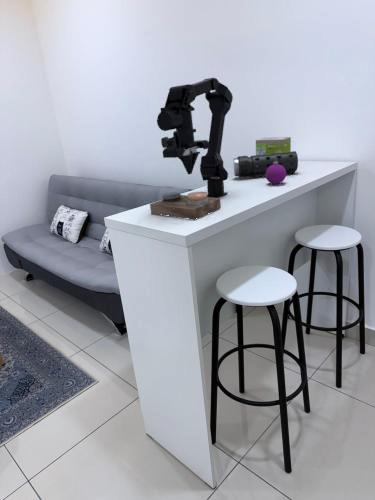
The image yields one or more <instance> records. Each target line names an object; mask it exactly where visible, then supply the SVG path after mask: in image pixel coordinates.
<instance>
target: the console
mask: <svg viewBox="0 0 375 500" xmlns="http://www.w3.org/2000/svg"><path fill="white" fill-rule="evenodd" d="M180 196H181V200H178V201H176V202H173V203H170V202H162V200H163V199H160V200H158V201H155V202H152V203H149V206H150V207H149V208H150V214H151V213H155V214H154V215H157V214H162V215H161V216H163V215H169V216H168V217H170V216H176V217H175V218H177V217H182V218H181V219H183V218H189V219H188V220H190V219H196V218H199V217H201V216H203V217H205V216H207V215H206V214H208V213H210V214H212V213H214V212H216V211H218V209H219V210H221V209H222V208H221V207H222V204H221V197H208V203H205V204H203V205H200V206H196V205H188V201H187V200H188V194H187V195H185V194H180ZM220 208H221V209H220ZM211 212H212V213H211ZM204 215H205V216H204ZM208 215H209V214H208ZM201 218H202V217H201ZM199 219H200V218H199ZM196 220H197V219H196Z"/></svg>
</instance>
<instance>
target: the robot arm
mask: <svg viewBox="0 0 375 500" xmlns="http://www.w3.org/2000/svg"><path fill="white" fill-rule="evenodd" d="M203 94H204V98H205V100H206V101H207V102H208V108H209V110H210V112H211V120H210V121H211V122H210V129H209V138H208V139H200V140H199V139H196V140H195V134H194V133H196V132H197V130H196V128H194V124H193V114H192V112H193V111H195V107H194V106H192V105H191V103H193V102H194V101H195V100H196V97H199V96H201V95H203ZM166 97H167V98H166V100H165V103H164V107H160V112H159V113H158V115H157V119H156V123H157V126H158V128H159V129H160V130H161V131H164V132H168V131H172V130H175V131H173V133H172V134H173V135H172V137H168V136H164V137H161V139H160V140H161V141H160V142H161V143H160V144H161V146H162V148H163V150H162V158H163V159H165V158H166V159H167V158H168V159H172V158H173V159H174V158H175V159H176V158H178V159H179V160H180V161H181V163H182V165H183V167H184V169H185V171H186V173H187V175H191V174H193V170H194V167H195V164H196V162H197V160H198V157H199V155H200V154H201V152H200V151H198V149H203V150H207V152H206V154H205V155H202V156H201V157H200V164H199V172H200V174H201V178H202V181H203V182H205V181H206V183H207V186H206V187H207V197H209V198H221V197H223V196H226V195H228V192H225V187H224V186H225V183H224V181H227V180H228V177H229V173H228V171H227V170H226V169H225V167H224V160H223V157H222V155H221V151H222V142H223V135H224V127H225V119H226V115H227V114H228V113H229V111H230V110H231V106H232V102H233V100H234V99H233V98H234V97H233V94H232V92H231V90H230V89H229V87H228V86H227V85H225V84H223V83H221V82H220V81H219V80H218V79H217V78H215V77H210V78H204V79H203V80H200V81H198V82H195V83H192V84H188V83H187V84H181V85H176V86H171V87H169V89H168V94H167V96H166Z"/></svg>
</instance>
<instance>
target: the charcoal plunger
mask: <svg viewBox="0 0 375 500" xmlns="http://www.w3.org/2000/svg"><path fill="white" fill-rule="evenodd" d="M180 195H181V193H180V192H178V191H177V192H176V191H175V192H173V191H172V192H166V193H164V194H162V195H161V196H162V199H161V200H162V202H170V203H173V202H176V201H178V200H181V196H180Z"/></svg>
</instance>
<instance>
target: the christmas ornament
mask: <svg viewBox="0 0 375 500" xmlns="http://www.w3.org/2000/svg"><path fill="white" fill-rule="evenodd" d="M276 161H277V160H276ZM273 164H274V165H271V166H270V167H268V169H267V171H266V175H265V178H266V180H267V181H268V183H269V184H272V185H278V184H282V182H284V180H285V179H286V177H287V174H286V170H285V168H284V167H283V166H282V165H278V162H275V160H274V162H273Z"/></svg>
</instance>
